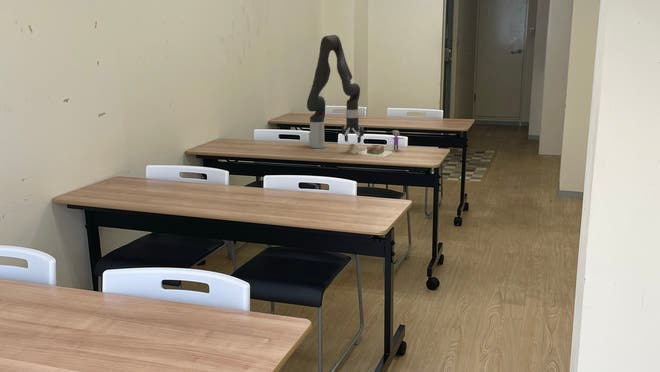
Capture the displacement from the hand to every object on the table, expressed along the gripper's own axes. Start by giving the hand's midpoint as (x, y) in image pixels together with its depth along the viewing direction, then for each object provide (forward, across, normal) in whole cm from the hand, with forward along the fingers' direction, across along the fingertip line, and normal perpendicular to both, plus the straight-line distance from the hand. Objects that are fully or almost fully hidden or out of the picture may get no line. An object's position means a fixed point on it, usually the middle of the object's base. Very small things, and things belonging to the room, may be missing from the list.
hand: (352, 142), depth 386 cm
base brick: (+7, +13, +6) cm, 16 cm away
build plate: (+8, +13, +6) cm, 16 cm away
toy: (+8, +22, +15) cm, 29 cm away
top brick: (+8, 0, 0) cm, 8 cm away
